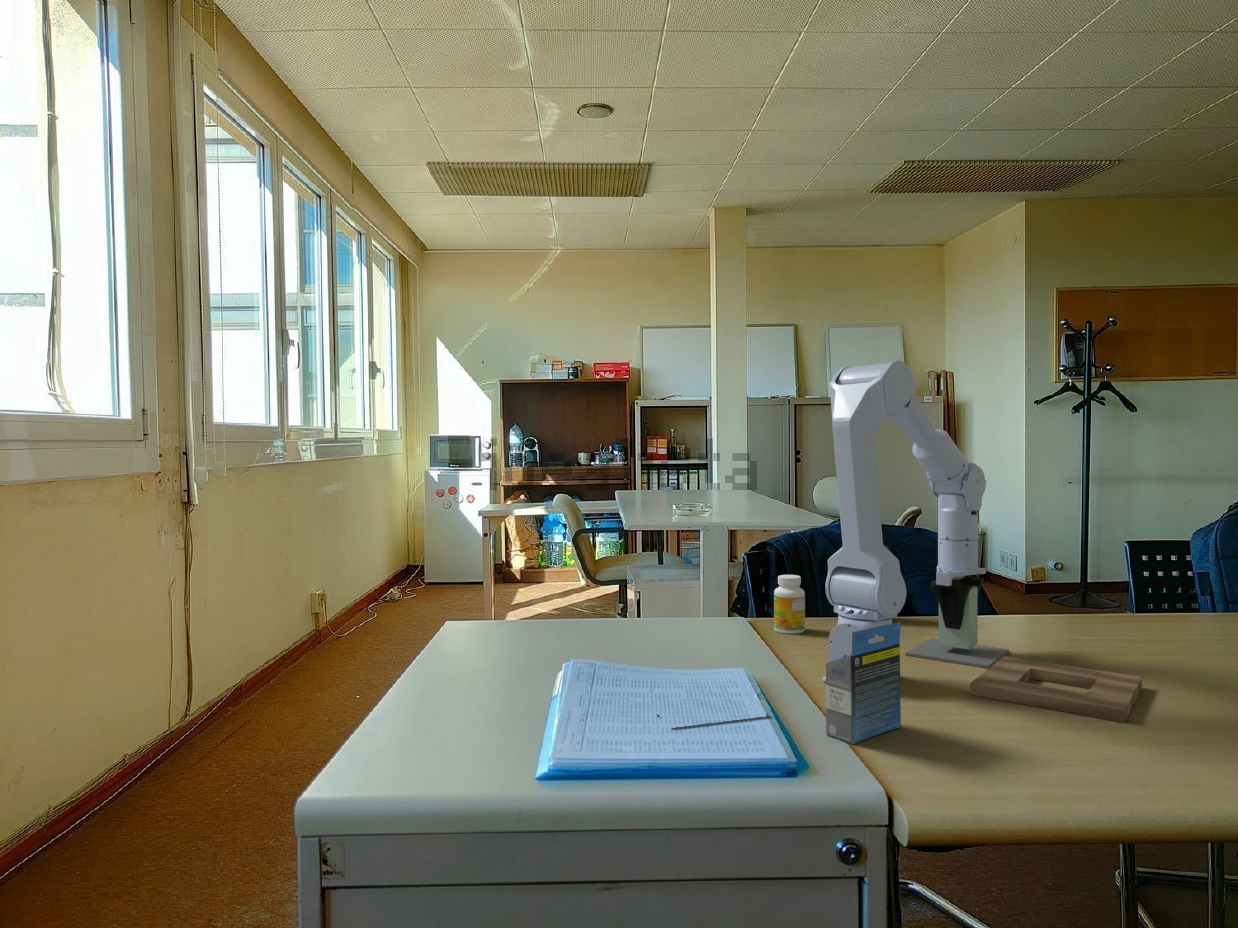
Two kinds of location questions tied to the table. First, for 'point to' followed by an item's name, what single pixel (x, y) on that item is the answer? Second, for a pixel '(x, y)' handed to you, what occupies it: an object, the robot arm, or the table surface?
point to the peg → (968, 630)
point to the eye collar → (1103, 700)
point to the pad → (959, 653)
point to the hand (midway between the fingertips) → (957, 625)
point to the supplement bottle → (789, 605)
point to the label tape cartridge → (865, 687)
